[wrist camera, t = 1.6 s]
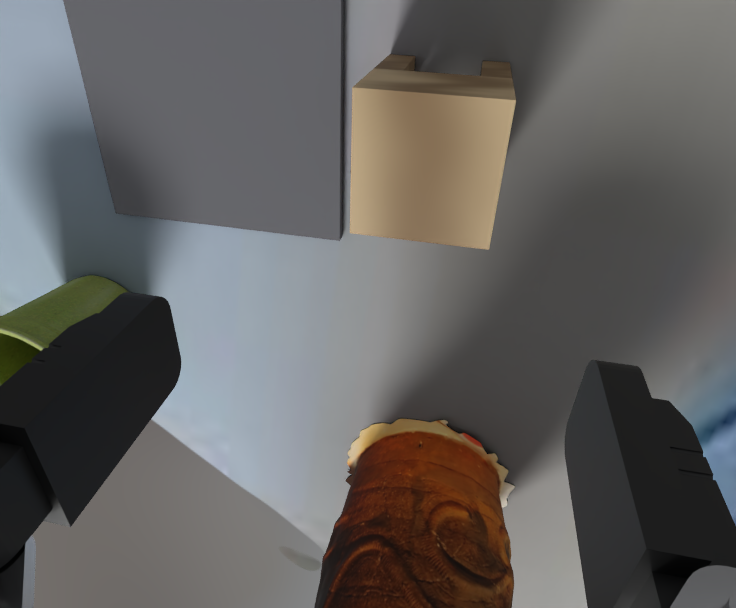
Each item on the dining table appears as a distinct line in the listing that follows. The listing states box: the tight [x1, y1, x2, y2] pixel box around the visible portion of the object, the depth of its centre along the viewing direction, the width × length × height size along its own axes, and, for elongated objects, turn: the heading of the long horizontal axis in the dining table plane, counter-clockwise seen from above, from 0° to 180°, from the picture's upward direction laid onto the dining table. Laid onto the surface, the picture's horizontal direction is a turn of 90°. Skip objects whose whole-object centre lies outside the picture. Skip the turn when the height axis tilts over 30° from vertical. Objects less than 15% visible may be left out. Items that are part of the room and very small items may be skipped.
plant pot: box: [0, 275, 128, 386], centre depth 34 cm, size 9×9×9 cm
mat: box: [63, 0, 344, 241], centre depth 27 cm, size 14×14×1 cm
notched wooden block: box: [350, 54, 516, 250], centre depth 22 cm, size 6×6×8 cm
